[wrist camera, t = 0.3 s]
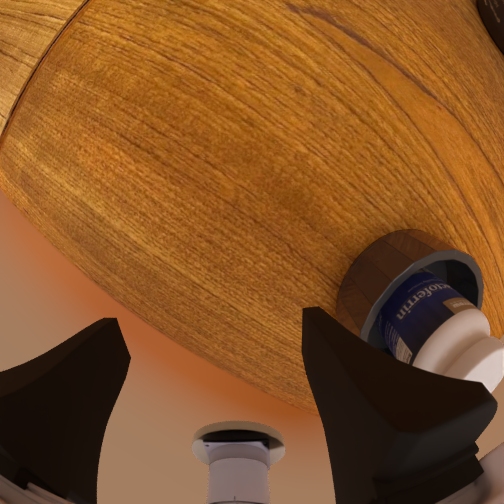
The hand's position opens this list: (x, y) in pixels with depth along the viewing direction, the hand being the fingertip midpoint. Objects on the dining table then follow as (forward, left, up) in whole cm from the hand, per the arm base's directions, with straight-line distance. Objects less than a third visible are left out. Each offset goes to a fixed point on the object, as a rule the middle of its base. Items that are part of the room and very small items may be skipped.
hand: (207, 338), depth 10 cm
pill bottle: (-4, -13, -7) cm, 15 cm away
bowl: (-3, -13, -8) cm, 15 cm away
